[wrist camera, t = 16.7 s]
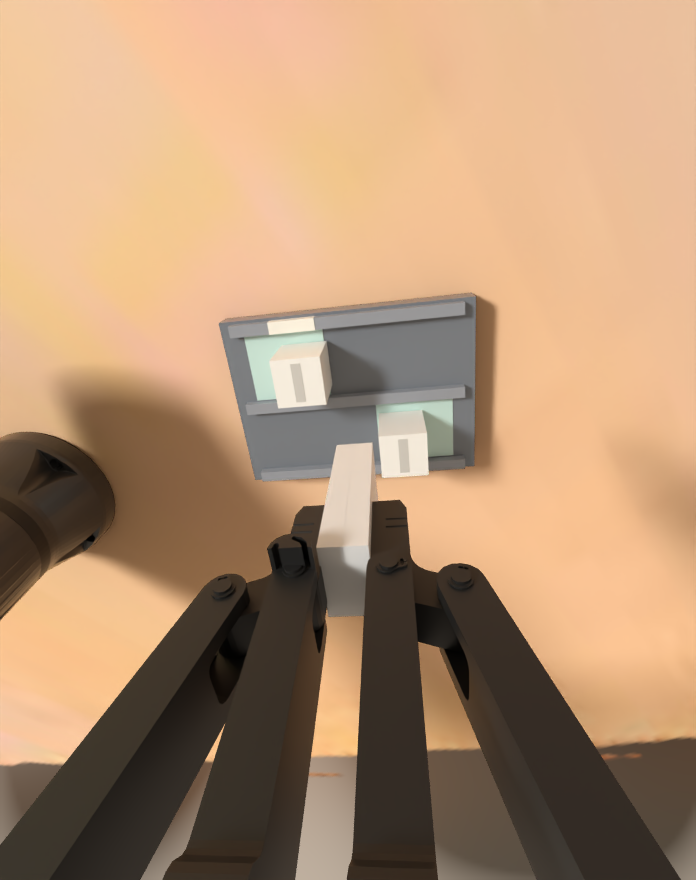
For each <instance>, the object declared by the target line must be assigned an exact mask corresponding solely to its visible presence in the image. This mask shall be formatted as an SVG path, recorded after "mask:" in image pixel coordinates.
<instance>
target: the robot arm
mask: <svg viewBox="0 0 696 880" xmlns="http://www.w3.org/2000/svg"><path fill="white" fill-rule="evenodd" d="M114 513H115V502H114V496H113V493H112V490H111V487H110V485H109V483H108V481H107V479H106V478H105V476H104V474H103V473H102V472H101V470H100V469H99V468H98V467H97V465H96V464H95V463H94V462H93V461H92V460H91V459H90V458H89V457H87V456H86V455H85V454H84V453H82V452H81V451H80V450H78V449H77V448H75V447H74V446H72V445H70V444H68V443H67V442H64V441H62V440H60V439H58V438H55V437H52V436H49V435H45V434H41V433H34V432H19V433H13V434H9V435H6V436H3V437H1V438H0V620H1V619H2V618H3V617H4V616H5V615H6V614H7V613H8V612H9V611H10V610H11V609H12V607H13V606H14V605H15V604H16V603H17V602H18V601H19V600H20V599H21V598H22V597H23V596H24V595H25V594H26V592H27V591H28V590H29V589H30V588H31V587H32V586H33V585H34V584H35V583H36V582H37V581H38V580H39V579H40V578H41V577H42V576H43V574H44V573H45V572H46V571H48V570H50V569H52V568H54V567H55V566H57V565H59V564H61V563H63V562H65V561H67V560H69V559H70V558H72V557H74V556H76V555H78V554H80V553H82V552H83V551H85V550H87V549H88V548H90V547H91V546H92V545H94V544H95V543H96V542H97V541H98V540H99V539H100V537H101V536H102V535H103V534H104V533H105V532H106V531H107V530H108V528H109V527H110V525H111V523H112V521H113V517H114ZM267 550H268V554H269V558H270V562H271V567H272V573H271V574H270V575H269V576H267V577H265V578H262V579H259V580H255V581H252V582H248V583H246V581H245V580H244V578H243V577H242V576H239V575H237V574H225V575H222V576H218V577H217V578H215V579H213V580H211V581H210V582H209V583H208V584H207V585H206V586H204V588H203V589H202V590H201V591H200V593H199V594H198V595H197V597H196V598H195V599H194V600H193V602H192V603H191V604H190V605H189V607H188V608H187V609H186V610H185V612H184V613H183V614H182V616H181V617H180V618H179V619H178V621H177V622H176V623H175V624H174V626H173V627H172V628H171V629H170V631H169V632H168V633H167V635H166V636H165V637H164V638H163V640H162V641H161V642H160V643H159V645H158V646H157V647H156V648H155V650H154V651H153V652H152V654H151V655H150V656H149V657H148V659H147V660H146V661H145V662H144V664H143V665H142V666H141V667H140V669H139V670H138V671H137V672H136V674H135V675H134V676H133V678H132V679H131V680H130V681H129V683H128V684H127V685H126V686H125V688H124V689H123V690H122V691H121V693H120V694H119V695H118V697H117V698H116V699H115V700H114V702H113V703H112V704H111V705H110V707H109V708H108V709H107V710H106V712H105V713H104V714H103V716H102V717H101V718H100V719H99V721H98V722H97V723H96V724H95V726H94V727H93V728H92V729H91V731H90V732H89V733H88V735H87V736H86V737H85V738H84V740H83V741H82V742H81V743H80V745H79V746H78V747H77V748H76V750H75V751H74V752H73V754H72V755H71V756H70V757H69V759H68V760H67V761H66V762H65V764H64V765H63V766H62V767H61V769H60V770H59V771H58V773H57V774H56V775H55V776H54V778H53V779H52V780H51V782H50V783H49V784H48V785H47V786H46V788H45V789H44V790H43V792H42V793H41V794H40V795H39V797H38V798H37V799H36V800H35V802H34V803H33V804H32V806H31V807H30V808H29V809H28V811H27V812H26V813H25V814H24V816H23V817H22V818H21V820H20V821H19V822H18V823H17V824H16V826H15V827H14V828H13V830H12V831H11V832H10V833H9V835H8V836H7V837H6V839H5V840H4V841H3V842H2V843H1V845H0V880H140V879H141V877H142V875H143V874H144V872H145V870H146V868H147V866H148V864H149V863H150V861H151V859H152V857H153V855H154V853H155V851H156V850H157V848H158V846H159V844H160V842H161V840H162V839H163V837H164V835H165V833H166V831H167V829H168V827H169V825H170V824H171V822H172V820H173V818H174V816H175V815H176V812H177V811H178V809H179V807H180V805H181V803H182V801H183V800H184V798H185V796H186V794H187V792H188V791H189V789H190V787H191V785H192V783H193V781H194V779H195V778H196V776H197V774H198V772H199V770H200V768H201V766H202V765H203V763H204V761H205V759H206V757H207V756H208V754H209V752H210V750H211V748H212V746H213V744H214V743H215V741H216V739H217V737H218V735H219V733H220V732H221V730H222V728H223V726H224V724H225V726H224V729H223V733H222V736H221V739H220V742H219V746H218V749H217V752H216V755H215V759H214V762H213V765H212V769H211V772H210V775H209V778H208V781H207V785H206V788H205V791H204V795H203V798H202V801H201V805H200V808H199V811H198V814H197V817H196V821H195V824H194V827H193V830H192V834H191V837H190V840H189V842H188V845H187V848H186V850H185V851H184V853H183V854H182V855H181V856H180V857H179V858H177V859H175V860H174V861H172V863H171V864H170V866H169V868H168V869H167V871H166V873H165V875H164V878H163V880H295V876H296V868H297V860H298V853H299V844H300V837H301V829H302V822H303V814H304V806H305V798H306V790H307V783H308V775H309V767H310V760H311V752H312V744H313V736H314V729H315V721H316V713H317V705H318V698H319V690H320V682H321V674H322V667H323V659H324V651H325V643H326V636H327V626H326V620H325V615H326V608H327V610H328V616H329V617H341V616H364V628H363V649H362V670H361V691H360V712H359V733H358V754H357V775H356V797H355V818H354V839H353V853H352V860H351V862H350V864H349V868H348V875H347V880H438V875H437V865H436V855H435V843H434V832H433V819H432V807H431V795H430V782H429V770H428V760H427V759H428V758H427V746H426V734H425V722H424V710H423V698H422V686H421V674H420V662H419V649H418V642H422V643H425V644H429V645H433V646H436V647H440V652H441V655H442V657H443V659H444V662H445V664H446V666H447V669H448V671H449V673H450V676H451V678H452V681H453V683H454V685H455V688H456V690H457V692H458V695H459V697H460V699H461V702H462V704H463V707H464V709H465V711H466V714H467V716H468V718H469V721H470V723H471V725H472V728H473V730H474V733H475V735H476V737H477V740H478V742H479V744H480V747H481V749H482V752H483V754H484V756H485V759H486V761H487V763H488V766H489V768H490V770H491V773H492V775H493V777H494V780H495V782H496V784H497V787H498V789H499V791H500V794H501V796H502V798H503V801H504V804H505V806H506V808H507V811H508V813H509V815H510V818H511V820H512V822H513V825H514V827H515V830H516V832H517V834H518V836H519V839H520V841H521V844H522V846H523V848H524V851H525V853H526V855H527V858H528V860H529V863H530V865H531V867H532V870H533V872H534V874H535V876H536V879H537V880H681V879H680V878H679V876H678V874H677V873H676V871H675V870H674V868H673V867H672V865H671V864H670V862H669V861H668V859H667V857H666V856H665V855H664V853H663V851H662V850H661V848H660V847H659V845H658V843H657V842H656V841H655V839H654V837H653V836H652V834H651V833H650V831H649V830H648V828H647V827H646V825H645V823H644V822H643V820H642V819H641V817H640V816H639V814H638V813H637V811H636V809H635V808H634V806H633V805H632V803H631V802H630V800H629V799H628V797H627V796H626V794H625V793H624V791H623V789H622V788H621V786H620V785H619V783H618V782H617V780H616V779H615V777H614V775H613V774H612V772H611V771H610V769H609V768H608V766H607V765H606V763H605V762H604V760H603V758H602V757H601V755H600V754H599V752H598V751H597V749H596V748H595V746H594V744H593V743H592V741H591V740H590V738H589V737H588V735H587V734H586V732H585V731H584V729H583V727H582V726H581V724H580V723H579V721H578V720H577V718H576V717H575V715H574V714H573V712H572V710H571V709H570V707H569V706H568V704H567V703H566V701H565V700H564V698H563V697H562V695H561V693H560V692H559V690H558V689H557V687H556V686H555V684H554V683H553V681H552V680H551V678H550V676H549V675H548V673H547V672H546V670H545V669H544V667H543V666H542V664H541V663H540V661H539V659H538V658H537V656H536V655H535V653H534V652H533V650H532V649H531V647H530V646H529V644H528V642H527V641H526V639H525V638H524V636H523V635H522V633H521V632H520V630H519V628H518V627H517V625H516V624H515V622H514V621H513V619H512V618H511V616H510V615H509V613H508V611H507V610H506V608H505V607H504V605H503V604H502V602H501V601H500V599H499V598H498V596H497V594H496V593H495V591H494V590H493V588H492V587H491V585H490V584H489V582H488V581H487V579H486V577H485V576H484V575H483V573H482V572H481V571H480V570H479V569H477V568H475V567H473V566H471V565H467V564H462V563H458V564H450V565H448V566H445V567H443V568H442V569H441V570H440V571H439V572H438V573H436V572H431V571H428V570H425V569H423V568H421V567H419V566H418V565H416V564H415V563H414V561H413V560H412V558H411V555H410V545H409V533H408V522H407V510H406V507H405V506H404V505H403V503H402V502H401V501H400V500H391V501H378V493H377V483H376V473H375V463H374V453H373V443H359V444H345V445H337V446H336V451H335V456H334V461H333V466H332V471H331V476H330V481H329V486H328V491H327V496H326V501H325V505H320V506H304V507H303V508H302V509H301V510H300V511H299V512H298V513H297V514H296V517H295V520H294V524H293V527H292V530H291V534H288V535H284V536H281V537H279V538H277V539H275V540H274V541H273V542H272V543H271V544H270V545H269V547H268V548H267ZM225 722H226V723H225Z"/></svg>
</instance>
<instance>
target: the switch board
mask: <svg viewBox="0 0 696 880" xmlns="http://www.w3.org/2000/svg"><path fill="white" fill-rule="evenodd" d="M219 327H220V331H221V335H222V339H223V344H224V348H225V352H226V356H227V361H228V365H229V369H230V373H231V378H232V382H233V386H234V390H235V395H236V399H237V403H238V407H239V412H240V416H241V420H242V424H243V429H244V433H245V437H246V442H247V446H248V450H249V454H250V459H251V463H252V467H253V471H254V476H255V480H262V481H277V480H292V479H308V478H324V477H330V476H331V471H332V466H333V461H334V456H335V451H336V446H337V445H345V444H359V443H373V453H374V463H375V473H376V474H382V471H381V460H380V449H379V438H378V426H379V413H389V412H402V411H415V410H422V412H423V417H424V421H425V426H426V431H427V445H428V470H429V471H433V470H449V469H465V467H466V466H474V442H475V339H476V296H475V295H474V294H472V293H464V294H455V295H446V296H436V297H427V298H417V299H408V300H398V301H389V302H379V303H370V304H360V305H351V306H342V307H332V308H323V309H313V310H304V311H294V312H285V313H275V314H266V315H256V316H247V317H237V318H228V319H225V320H223V321H221V322H220V323H219ZM319 341H327V347H328V355H329V362H330V370H331V377H332V388H331V391H330V394H329V398H328V401H327V404H326V405H315V406H303V407H291V408H279V409H278V405H277V399H276V394H275V389H274V384H273V379H272V374H271V368H270V363H269V361H270V359H271V358H272V357H273V356H274V354H275V353H276V352H277V351H278V349H279V348H280V347H281V346H282V345H288V344H299V343H309V342H319Z"/></svg>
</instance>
